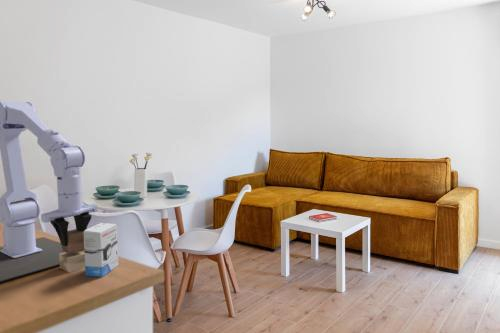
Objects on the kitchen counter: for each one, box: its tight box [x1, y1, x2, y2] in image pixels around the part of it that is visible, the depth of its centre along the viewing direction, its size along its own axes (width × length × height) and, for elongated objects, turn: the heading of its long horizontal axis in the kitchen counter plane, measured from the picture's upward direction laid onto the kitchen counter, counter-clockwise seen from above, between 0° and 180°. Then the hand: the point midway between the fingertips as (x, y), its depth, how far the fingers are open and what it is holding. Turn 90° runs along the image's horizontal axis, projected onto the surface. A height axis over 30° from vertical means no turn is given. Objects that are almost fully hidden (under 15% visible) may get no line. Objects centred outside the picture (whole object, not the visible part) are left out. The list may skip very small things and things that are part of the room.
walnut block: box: [61, 228, 84, 254], centre depth 106 cm, size 4×4×5 cm
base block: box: [58, 250, 85, 273], centre depth 107 cm, size 5×5×4 cm
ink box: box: [83, 222, 119, 278], centre depth 105 cm, size 8×5×12 cm, turn 168°
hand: (72, 243), depth 106 cm, fingers closed on walnut block, 4 cm apart
